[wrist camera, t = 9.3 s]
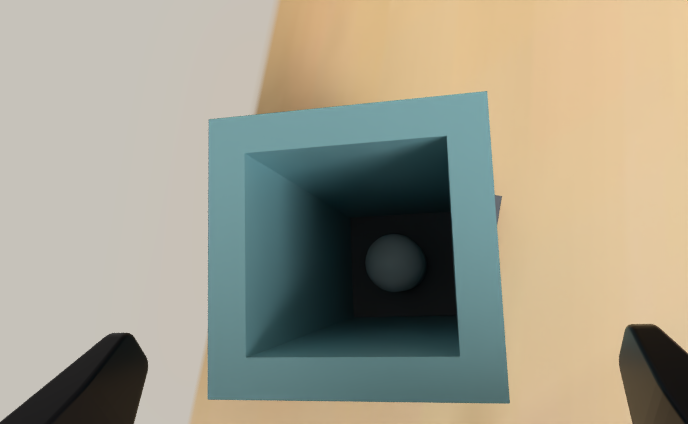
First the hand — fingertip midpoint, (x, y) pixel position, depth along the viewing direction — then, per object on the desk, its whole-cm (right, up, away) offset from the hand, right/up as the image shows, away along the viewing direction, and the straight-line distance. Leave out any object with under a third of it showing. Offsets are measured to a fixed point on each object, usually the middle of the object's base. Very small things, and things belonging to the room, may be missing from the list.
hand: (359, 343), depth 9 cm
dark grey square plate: (+2, 0, +10) cm, 10 cm away
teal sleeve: (+2, 0, +9) cm, 9 cm away
